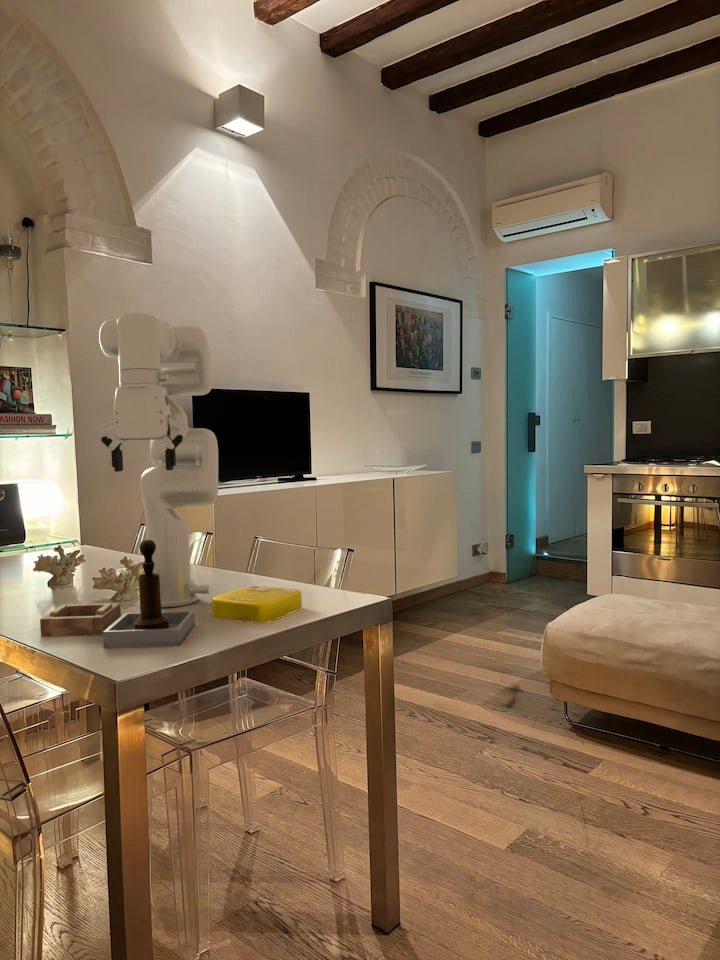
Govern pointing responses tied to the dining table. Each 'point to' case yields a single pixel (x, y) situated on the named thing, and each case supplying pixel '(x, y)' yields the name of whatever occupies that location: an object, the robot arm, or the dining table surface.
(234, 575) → the dining table surface
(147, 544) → the wooden pepper mill
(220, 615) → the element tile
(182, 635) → the gray square tray
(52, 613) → the walnut tray
